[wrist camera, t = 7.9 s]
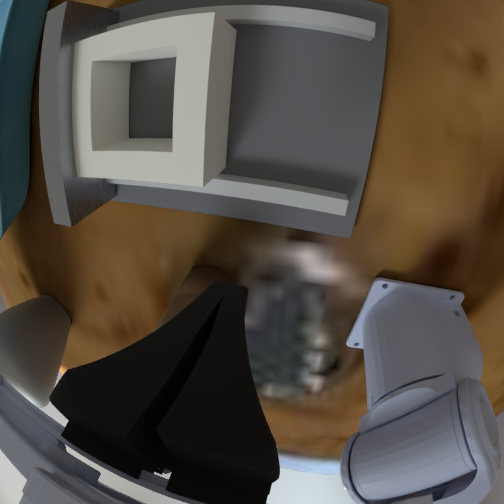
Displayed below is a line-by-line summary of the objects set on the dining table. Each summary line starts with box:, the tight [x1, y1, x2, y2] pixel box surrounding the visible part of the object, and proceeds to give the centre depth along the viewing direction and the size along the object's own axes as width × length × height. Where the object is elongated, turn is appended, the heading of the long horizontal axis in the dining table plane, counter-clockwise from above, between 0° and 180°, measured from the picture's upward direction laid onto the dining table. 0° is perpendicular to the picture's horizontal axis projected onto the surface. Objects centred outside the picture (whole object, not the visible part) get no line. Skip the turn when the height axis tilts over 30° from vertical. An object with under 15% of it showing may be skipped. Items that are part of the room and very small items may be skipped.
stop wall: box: [39, 1, 120, 227], centre depth 13 cm, size 2×15×6 cm, turn 175°
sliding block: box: [72, 12, 237, 187], centre depth 13 cm, size 9×9×4 cm
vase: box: [0, 294, 72, 408], centre depth 23 cm, size 14×14×25 cm
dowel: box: [153, 265, 231, 332], centre depth 20 cm, size 4×4×7 cm
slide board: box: [106, 0, 388, 238], centre depth 14 cm, size 20×16×2 cm
